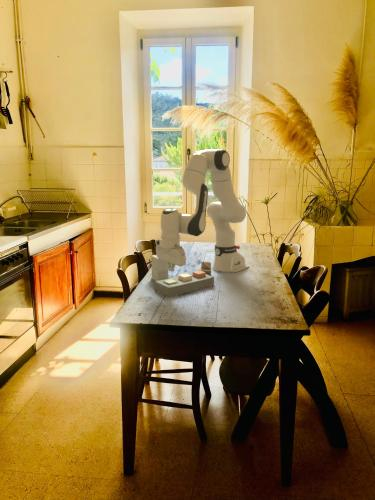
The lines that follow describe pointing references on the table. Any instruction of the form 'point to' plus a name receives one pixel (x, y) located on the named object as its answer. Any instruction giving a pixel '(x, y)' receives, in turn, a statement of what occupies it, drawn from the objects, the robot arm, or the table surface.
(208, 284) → the console
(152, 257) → the small box
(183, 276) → the cream button
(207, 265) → the architectural model
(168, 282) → the sage button
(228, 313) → the table surface
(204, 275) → the rust button
